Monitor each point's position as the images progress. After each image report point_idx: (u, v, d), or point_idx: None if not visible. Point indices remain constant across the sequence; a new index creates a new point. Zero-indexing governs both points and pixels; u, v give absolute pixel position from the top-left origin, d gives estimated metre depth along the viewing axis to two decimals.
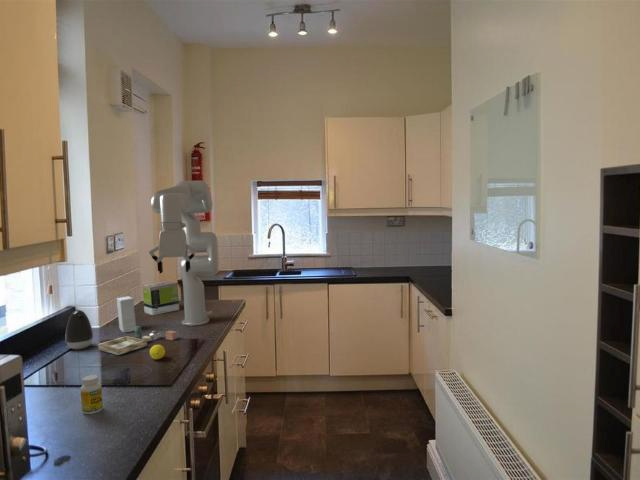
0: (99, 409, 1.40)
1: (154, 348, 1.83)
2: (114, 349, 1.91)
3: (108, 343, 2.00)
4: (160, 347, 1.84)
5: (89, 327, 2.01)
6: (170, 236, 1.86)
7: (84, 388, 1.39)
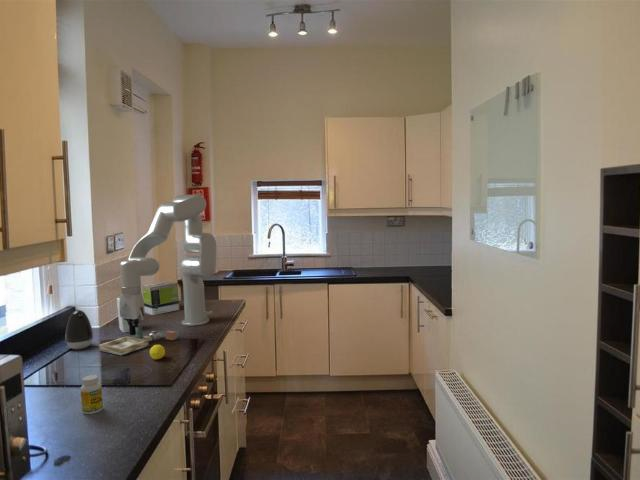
0: (99, 409, 1.40)
1: (154, 348, 1.83)
2: (117, 349, 1.91)
3: (109, 344, 1.99)
4: (160, 347, 1.84)
5: (89, 327, 2.01)
6: None
7: (84, 388, 1.39)
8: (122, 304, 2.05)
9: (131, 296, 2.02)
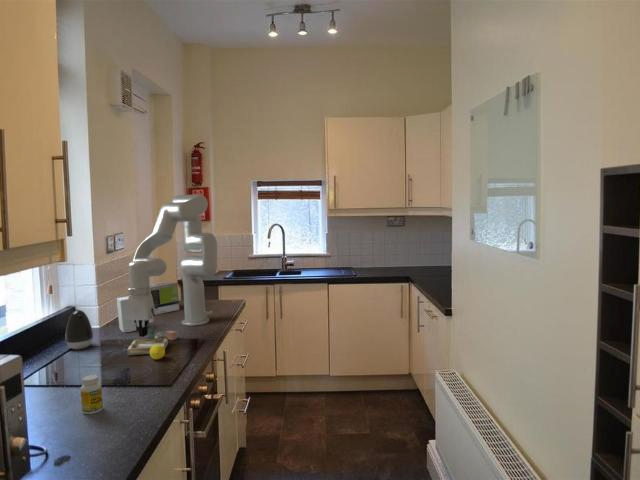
0: (99, 409, 1.40)
1: (154, 348, 1.83)
2: None
3: (132, 347, 1.93)
4: (160, 347, 1.84)
5: (89, 327, 2.01)
6: None
7: (84, 388, 1.39)
8: (132, 305, 2.02)
9: (142, 297, 2.00)
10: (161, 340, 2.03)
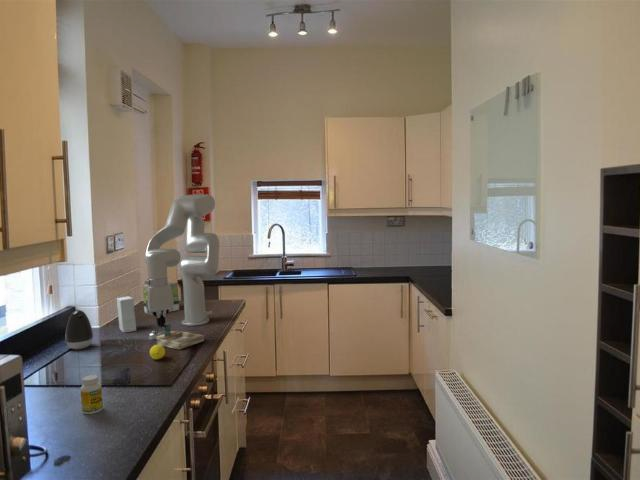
0: (99, 409, 1.40)
1: (154, 348, 1.83)
2: (199, 337, 2.04)
3: None
4: (160, 347, 1.84)
5: (89, 327, 2.01)
6: None
7: (84, 388, 1.39)
8: (155, 297, 2.01)
9: (167, 286, 2.03)
10: (179, 335, 2.10)
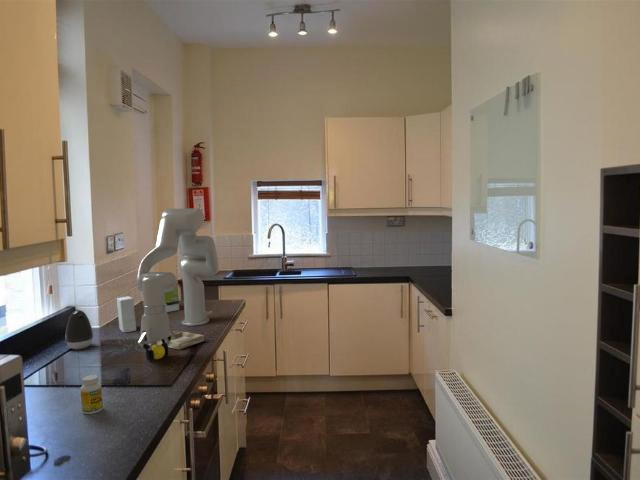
0: (99, 409, 1.40)
1: (154, 348, 1.83)
2: (199, 337, 2.04)
3: None
4: (160, 347, 1.84)
5: (89, 327, 2.01)
6: (159, 319, 1.82)
7: (84, 388, 1.39)
8: None
9: None
10: (179, 335, 2.10)
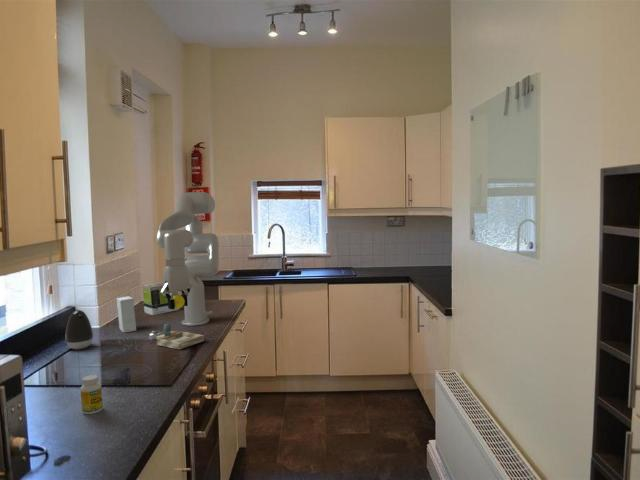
0: (99, 409, 1.40)
1: (175, 298, 2.00)
2: (199, 337, 2.04)
3: None
4: (180, 297, 2.01)
5: (89, 327, 2.01)
6: (179, 271, 1.99)
7: (84, 388, 1.39)
8: None
9: None
10: (179, 335, 2.10)
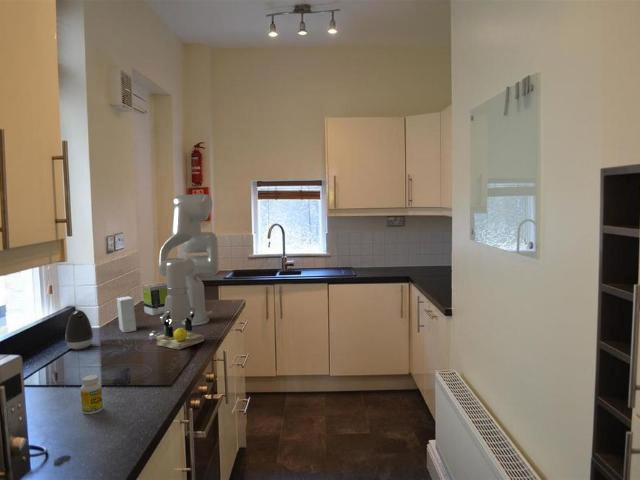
0: (99, 409, 1.40)
1: (178, 331, 2.01)
2: (199, 337, 2.04)
3: None
4: (183, 330, 2.03)
5: (89, 327, 2.01)
6: (181, 300, 2.00)
7: (84, 388, 1.39)
8: None
9: None
10: None
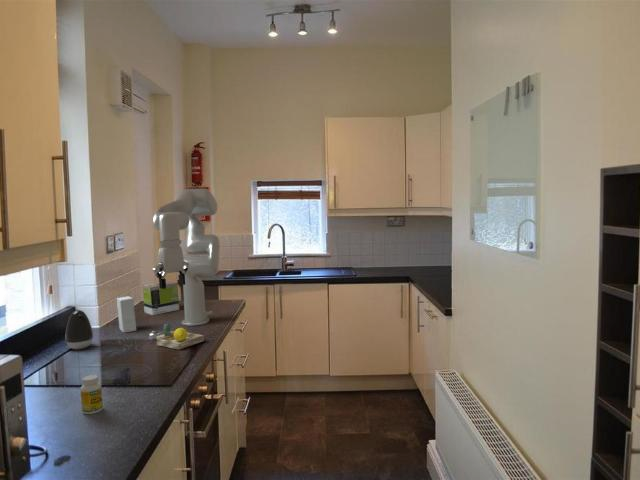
0: (99, 409, 1.40)
1: (178, 331, 2.01)
2: (199, 337, 2.04)
3: None
4: (183, 330, 2.03)
5: (89, 327, 2.01)
6: (174, 253, 2.00)
7: (84, 388, 1.39)
8: None
9: None
10: None
